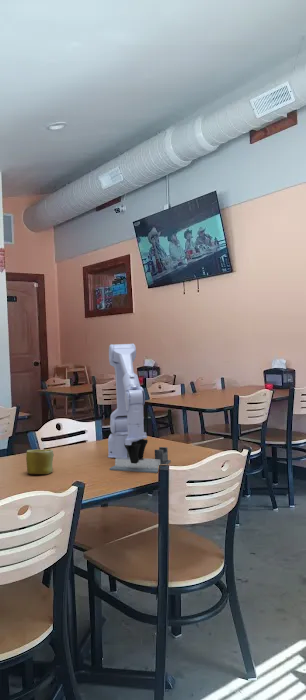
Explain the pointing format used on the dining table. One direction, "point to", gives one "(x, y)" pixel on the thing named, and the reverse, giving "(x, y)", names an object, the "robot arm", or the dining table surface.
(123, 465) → the rail
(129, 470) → the mat
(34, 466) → the mug
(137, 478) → the dining table surface
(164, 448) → the rack
